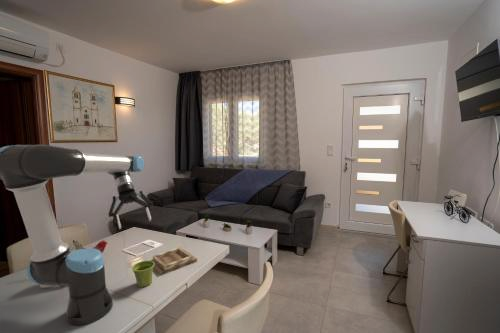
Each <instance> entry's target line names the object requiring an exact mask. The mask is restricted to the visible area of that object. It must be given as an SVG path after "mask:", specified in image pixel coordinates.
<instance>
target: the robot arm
mask: <svg viewBox="0 0 500 333" xmlns="http://www.w3.org/2000/svg"><path fill="white" fill-rule="evenodd" d="M144 168H145V160H144V157H142V156H138V155H137V156H136V155H132V156H131V155H130V156H129V155H119V154H118V155H117V154H116V155H115V154H108V153H107V154H106V153H90V152H83V151H81V150H79V149H76V148H75V149H74V148H69V147H62V146H61V147H60V146H56V145H49V144H15V145H14V144H12V145H6V146H2V147H0V180H1V181H2V182H3V184H4V187H5V189H6V190H8V191H11V192H13V195H14V198H15V201H16V204H17V207H18V209H19V212H20V215H21V218H22V221H23V224H24V226H25V230H26V233H27V236H28V238H29V241H30V244H31V246H32V251H33V253H31V255H30V258H29V259H30V260H29V261H28V266H27V267H26V274H27V276H28V279H29V280H30V281H31V282H33V283H34V284H38V285H39V284H41V285H52V286H58V287H62V286H63V287H67V288H68V293H69V300H68V304H67V308H66V311H65V320H66V323H67V324H69V325H70V326H83V325H88V324H91V323H93V322H95V321H98V320H100V319H101V318H103V317H105V316H106V315H107V314H108V313H109V312H110V311H111V310H112V309H113V304H114V302H113V297H112V295H111V293H110V292H109V289H108V288H107V285H106V284H107V283H106V282H107V281H106V272H105V271H106V270H105V260H104V256H103V253H101V251H99V250H97V249H94V248H93V247H86V248H79V249H78V248H77V249H75V250H73V251H71V249H70V246H69V244H68V243H67V242H64V241H63V240H62V237H61V233H60V230H59V227H58V223H57V219H56V217H55V213H54V211H53V210H54V209H53V207H52V204H51V200H50V197H49V194H48V191H47V188H46V184H47V183H48V181H49V180H50V179H57V178H63V177H73V176H75V177H77V176H80V174H83V173H84V174H85V173H87V174H88V173H107V174H109V175H111V176H113V178H114V182H115V185H116V190H117V193H118V196H115V195H114V196H112V202H111V205H110V208H109V211H108V217H109V218H111V217H112V218H113V221H114V223H115V224H116V223H117V226H118V230H121V229H122V224H121V221H120V216H119V213H120V211H121V209H122V208H123V206H124V205H127V204H133V203H136V204H138V205H140V206H142V207H144V208H145V211H146V215H147V218H148V221H149V222H151V221H152V215H151V214H152V207H153V206H154V203H153V202H152V200H150V199H149V198H148V197H147V196H146V195H145V194H144V193H143V191H142V190H139V191H138V192H136V190H135V187H134V184H133V180H132V177H131V174H130V172H131V173H141V172H142V171H143V170H144ZM139 197H140V198H141V199H140V198H139ZM118 200H119V201H120V202H119V204H118V205H117V207H116V208H115V206H116V203H117V202H118ZM114 209H115V210H114Z"/></svg>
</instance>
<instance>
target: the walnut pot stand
mask: <svg viewBox="0 0 500 333" xmlns="http://www.w3.org/2000/svg"><path fill="white" fill-rule="evenodd" d="M149 261H153V262H154V266H153V271H155V272H156V273H157V274H159V275H160V276H162V275H165V274H167V273H170V272H172V271H176V270H178V269H181V268H184V267H185V266H189V265H191V264H194V263H197V262H198V258H197V257H195V256H194V255H192V254H191V253H189V252H188V251H187V250H185V249H183V248H181V247H180V246H179V247H175V248H173V249H169V250H167V251H163V252H161V253H158V254H155V255H152V259H150V260H149Z"/></svg>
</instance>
